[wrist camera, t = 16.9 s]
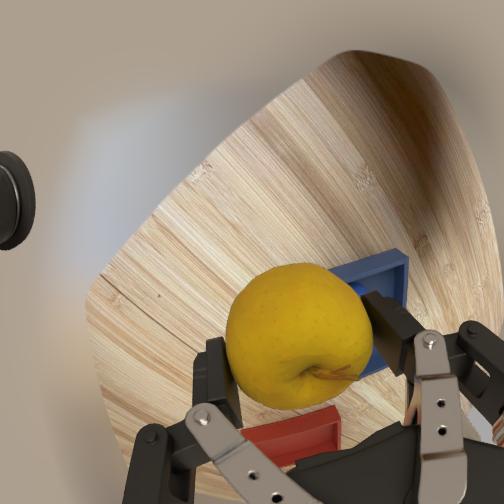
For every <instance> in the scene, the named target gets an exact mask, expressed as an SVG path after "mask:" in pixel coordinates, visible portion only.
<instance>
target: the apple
mask: <svg viewBox="0 0 504 504" xmlns="http://www.w3.org/2000/svg"><path fill="white" fill-rule="evenodd" d="M372 349H373V333H372V326H371V322H370V320H369V317H368V315H367V312H366V310H365V308H364V306H363V303H362V301H361V299H360V297H359V296H358V294H357V293H356V292H355V291H354V290H353V289H352V288H351V287H350V286H349V285H348V284H347V283H345V282H344V281H343V280H341V279H340V278H339V277H337V276H336V275H334V274H333V273H331V272H330V271H328V270H327V269H325V268H323V267H320V266H318V265H316V264H312V263H296V264H288V265H283V266H278V267H274V268H272V269H270V270H268V271H266V272H264V273H262V274H260V275H259V276H257V277H255V278H254V279H253V280H252V281H251V282H250V283H249V284H248V285H247V286H246V287H245V288H244V289H243V290H242V291H241V292H240V293H239V295H238V296H237V297H236V298H235V300H234V302H233V304H232V306H231V309H230V313H229V316H228V320H227V327H226V354H227V358H228V362H229V365H230V369H231V373H232V375H233V377H234V379H235V381H236V382H237V384H238V386H239V388H240V389H241V390H242V391H243V392H244V393H245V394H246V395H247V396H248V397H250V398H251V399H253V400H254V401H256V402H258V403H261V404H262V405H264V406H267V407H270V408H273V409H278V410H294V409H302V408H306V407H310V406H314V405H317V404H320V403H323V402H325V401H327V400H329V399H332V398H335V397H336V396H338V395H339V394H341V393H342V392H343V391H344V390H346V389H347V388H348V387H349V386H350V385H351V384H352V383H353V382H354V381H359V380H361V379H360V378H359V375H360V374H361V373H362V371H363V370H364V369H365V367H366V365H367V364H368V362H369V359H370V357H371V354H372Z"/></svg>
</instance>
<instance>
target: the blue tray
mask: <svg viewBox="0 0 504 504" xmlns="http://www.w3.org/2000/svg"><path fill="white" fill-rule="evenodd" d="M408 268H409V257H408V256H406V255H405V254H403V253H402V252H401V251H399V250H398V249H396V248H395V249H392V250H389V251H386V252H383V253H380V254H377V255H374V256H371V257H367V258H364V259H361V260H358V261H355V262H351V263H348V264H345V265H342V266H338V267H335V268H332V269H328V271H330V272H331V273H333V274H334V275H336V276H337V277H339V278H340V279H341V280H343V281H344V282H345V283H347V284H349V283H360V284H362V285H363V286H364V287H365V288H366V289H367V290H368V291H369V292H370V291H373V290H377V291H378V292H379V293H380V294H381V295H382V296H383V297H387V296H388V297H391V298H393V299H395V300H397V301H398V302H399V303H400V304H401V305H402V306H403V308H405V309H406V302H407V289H408ZM387 367H389V366H388V364H387V363H386V362H385V360H384V359H383V357H382V356H381V355H380V353H379V352H378V350H377V349H376V347H375V346H374V345H373V349H372V354H371V357H370V359H369V362H368V364H367V365H366V367H365V369H364V370H363V371H362V373H361V374H360V375H359V378H360V379H361V378H363V377H366V376H368V375H371V374H373V373H376V372H378V371H380V370H383V369H385V368H387Z"/></svg>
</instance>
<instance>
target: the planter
mask: <svg viewBox="0 0 504 504" xmlns="http://www.w3.org/2000/svg"><path fill="white" fill-rule="evenodd" d="M461 413H462V425H463V437H465V438H469V439H472V440H476V441H480V442H481V436H480V435H479V433H478V432H477V430H476V429H475V427H474V426H473V425H472V423H471V422H470V420H469V419H468V417H467V416H466V415H465V413H464V412H463V410H462V409H461Z"/></svg>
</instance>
